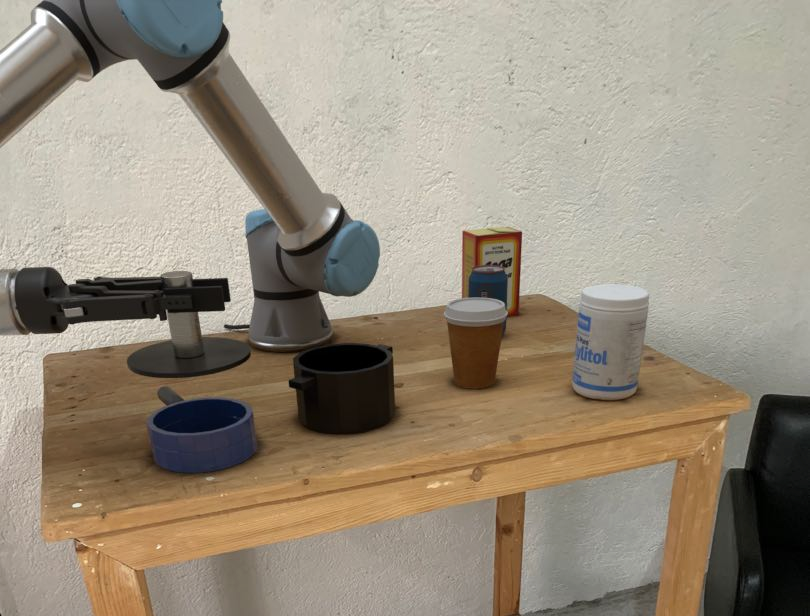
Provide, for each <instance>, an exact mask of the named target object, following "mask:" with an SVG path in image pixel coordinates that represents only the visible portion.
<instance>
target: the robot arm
mask: <svg viewBox="0 0 810 616" xmlns="http://www.w3.org/2000/svg"><path fill="white" fill-rule="evenodd" d="M222 3H223V0H42V1H40V2H39V3H38V4H37V5H36V6H34V7H33V8H32V9H31V11H30V24H29V25H28V26H27V27H26V28H25V29H24V30H22V31H21V32H20V33H19V34H17V36H15V37H14V38H12V40H10V41H9V42H8V43H7V44H6V45H5V46H3V47H2V48H1V49H0V149H2V147H3V146H5V145H6V144H7V143H8V142H10V141H11V140H12V138H14V137H15V136H16V135H17V134H18V133H19V132H20V131H21V130H22V129H24V128H25V127H26V126H27V125H29V123H31V122H32V121H33V120H34V119H35V118H36V117H37V116H38V115H40V113H42V112H43V111H44V110H45V109H46V108H47V107H49V105H51V104H52V103H53V102H54V101H55V100H57V99H58V98H59V97H60V96H61V95H62V94H63V93H64V92H65V91H66V90H68V89H69V88H70V87H71V86H72V85H73V84H74V83H76V82H77V81H79V82H85V83H88V82H90V81H92V80H93V79H94V78H95V77H96V76H97V75H98V74H100V73H101V72H102V71H104V70H106V69H108V68H109V67H111V66H113V65H116V64H118V63H123V62H125V61H129V60H131V61H133V60H137V62H138V63H139V64H140V65H141V66H142V68H143V69H144V70H145V72H146V73H147V74H148V76H149V77H150V78H151V79H152V81H153V82H154V83H155V84H156V86H157V88H159V90H160V91H162V92H164V93H172V94H177V95H178V96H179V97H180V99H181V100H182V101H183V102H184V104H185V105H186V106H187V108H188V109H189V111H190V112H191V113H192V114H193V116H194V117H195V118H196V121H198V122H199V124H200V125H201V127H202V128H203V129H204V130H205V132H206V133H207V135H208V136H209V138H211V140H212V141H213V142H214V144H215V145H216V146H217V148H218V149H219V150H220V152H221V153H222V155H223V156H224V158H226V160H227V161H228V162H229V164H230V165H231V166H232V168H233V169H234V170H235V172H236V173H237V174H238V175H239V177H240V178H241V180H242V181H243V183H244V184H245V185H246V186H247V188H248V189H249V190H250V191H251V193H252V194H253V196H254V197H255V199H256V200H257V201H258V202H259V204H261V206H262V208H261V209H255V210H251V211H249V212H248V213H247V214H246V216H245V218H244V220H245V221H244V222H245V223H244V224H245V233H244V235H245V239H246V242H247V243H246V245H247V251H248V253H247V254H248V259H249V268H250V274H251V275H250V276H251V284H252V290H253V305H252V311H251V316H250V323H249V324H233V325H232V324H226V323H224V324H223V328H224V329H226V330H247V329H248V341H249V342H248V343H249V346H251V347H252V348H255V349H257V350H261V351H266V352H278V353H281V352H282V353H285V352H297V351H298V352H299V351H300V352H301V351H305V350H308V349H310V348H313V347H318V346H323V345H327V344H328V343H330V342H331V341H332V339H333V328H332V324H331V322H330V319H329V316H328V315H327V312H326V309H325V307H324V304H323V302H322V299H321V295H320V293H324V294H329V295H330V296H334V297H347V298H351V297H352V298H353V297H355V296H359V295H360V294H362V293H363V292H364V291H365V290H367V289H368V287H369V286H370V285H371V284H372V282H373V281H374V279H375V277H376V275H377V272H378V269H379V266H380V264H379V261H380V257H381V247H380V241H379V238H378V235H377V233H376V231H375V230H374V228H373V227H371V226H370V225H369V224H368V223H366V222H364V221H362V220H359V219H358V220H357V219H353V218H351V216H350V215H349V213H348V211H347V210H346V208H345V207H344V205H343V204H342V203H341V201H340V200H339V199H338V197H337V196H336V195H335V194H333V193H330V192H322V190H321V189H320V187H319V186H318V184H317V183H316V181H315V180H314V178H313V177H312V176H311V174H310V172H309V171H308V169H307V168H306V165H304V163H303V162H302V160H301V159H300V157H299V156H298V154H297V152H296V151H295V150H294V149H293V147H292V145H291V143H290V142H289V141H288V139H287V138H286V136H285V135H284V133H283V132H282V130H281V129H280V127H279V126H278V124H277V123H276V121H275V119H274V118H273V117H272V115H271V113H270V112H269V111H268V109H267V108H266V106H265V104H264V103H263V102H262V100H261V98H260V97H259V96H258V94H257V92H256V90H254V88H253V87H252V85H251V84H250V83H249V81H248V79H247V77H246V76H245V75H244V74H243V72H242V70H241V68H240V67H239V66H238V64H237V63H236V61H235V59H234V58H233V56H232V55H231V53H230V51H229V50H230V42H231V32H230V30H229V28H227V26H226V24H225V23H224V11H223V10H222ZM74 281H75V283H70V284H68V283H67V282H66V281H64V279H63V276H62V274H61V273H60V271H58V270H57V269H56V268H55V267H52V266H33V267H32V266H31V267H30V266H29V267H22V268H21V269H20V270H19V269H18V268H1V269H0V336H1V337H3V336H5V337H6V336H28V335H30V334H32V335H33V334H34V335H51V334H56V335H57V334H62V333H64V332H65V331H67V329H68V327H69V326H70V325H75V324H84V323H91V322H93V323H94V322H114V321H115V322H116V321H130V320H131V321H132V320H155V319H157V318H159V322H164V321H168V317H167V311H166V310H168V313H185V312H198V313H208V312H225V311H226V303H230V302H232V300H231V291H230V283H229V278H228V277H214V278H193V283H194V287H176V288H165V289H164V292H165V295H164V294H163V288H162V283H161V277H160V276H130V277H127V276H126V277H125V276H124V277H109V276H108V277H107V276H99V275H98V276H96V277H94V278H93V280H92V279H91V278H80V279H79V278H78V279H75V280H74Z"/></svg>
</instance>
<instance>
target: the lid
mask: <svg viewBox="0 0 810 616" xmlns="http://www.w3.org/2000/svg"><path fill="white" fill-rule="evenodd" d="M159 277H161V283H162V288H163V294H164V295H165V292H164V289H165V288H176V287H194V283H193V279H194V277H193V272H192V271H188V270H172V271H167V272H163V273H161V274H160V275H159ZM166 313H167V323H168V329H169V333H170V340H165V341H161V342H157V343H153V344H149V345H147V346H144V347H142V348H139V349H137V350H135V351H134V352H132V353H131V354H129V356H127V359H126V366H127V368H128V370H129V371H130V372H132V373H134V374H136V375H139V376H143V377H148V378H155V379H187V378H188V379H189V378H195V377H196V378H197V377H203V376H209V375H215V374H218V373H223V372H226V371H230V370H232V369H235V368H237V367H239V366H242V365H243V364H245V363H246V362H247V361H249V359H250V358H251V355H252V351H251V347H250V345H248V344H247V343H245V342H244V341H241V340H238V339H233V338H229V337H217V336H203V335H202V328H201V322H200V316H199V312H185V313H168V310H166Z"/></svg>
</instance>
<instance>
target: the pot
mask: <svg viewBox="0 0 810 616" xmlns="http://www.w3.org/2000/svg"><path fill="white" fill-rule="evenodd" d="M393 348H394V347H393V346H391V345H386V344H381V343H379V344H377V345H376V344H370V343H359V342H358V343H357V342H342V343H341V342H340V343H329V344H324V345H322V346H318V347H313V348H310V349H307V350H301V351H300V352H298V354H296V355H295V356H293V358H292V362H293V363H292V365H293V376H294V377H293V378H290V379H288V381H287V382H288V388H290V389H294V390H295V394H296V405H297V414H298V421H299V423H300V424H301V425H302V426H303V427H304V428H306V429H308V430H310V431H313V432H316V433H322V434H328V435H329V434H330V435H352V434H353V435H354V434H359V433H366V432H369V431H373V430H377V429H379V428H382V427H383V426H386V425H388V424H389V423H390V422H392V420H393V419H394V417H395V413H396V397H395V375H394V374H395V372H394V371H395V370H394V369H395V368H394V356H393V353H394V349H393Z"/></svg>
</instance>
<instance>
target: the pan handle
mask: <svg viewBox="0 0 810 616" xmlns="http://www.w3.org/2000/svg"><path fill="white" fill-rule="evenodd" d="M157 397H158V399H159V401H160V402H162V403H163V404H164V406H167V405H170V404H173V403H176V402H180V401H185V400H186V399H184V398H183V397H182V396H181V395H179V393H176V391H175V390H173V388H172V387H169V386H167V385H164V386H161V387H159V388H158V390H157Z"/></svg>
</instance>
